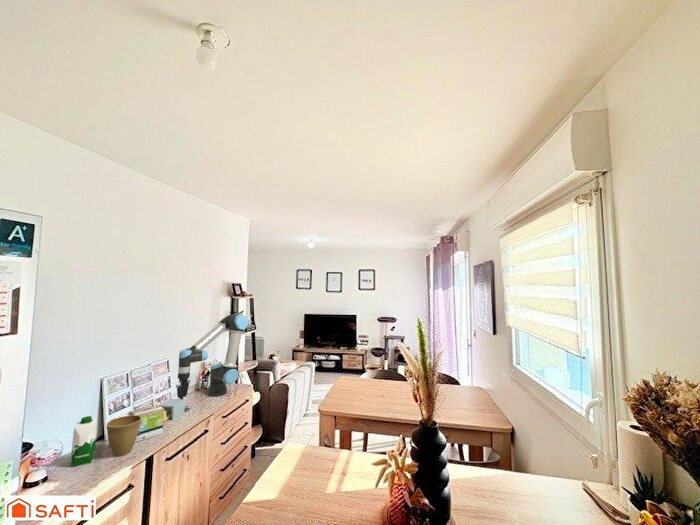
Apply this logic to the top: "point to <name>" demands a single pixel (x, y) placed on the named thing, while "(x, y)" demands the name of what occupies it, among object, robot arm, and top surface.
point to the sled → (167, 416)
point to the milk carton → (84, 441)
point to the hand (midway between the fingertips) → (181, 406)
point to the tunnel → (175, 407)
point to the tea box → (149, 421)
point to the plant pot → (123, 433)
